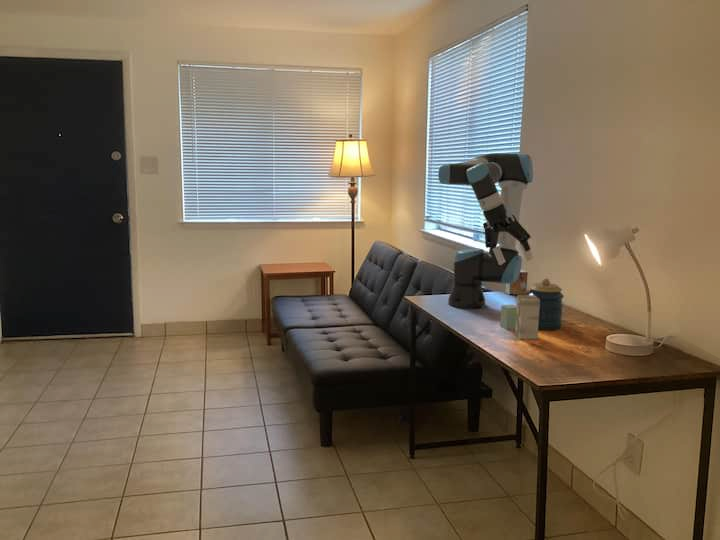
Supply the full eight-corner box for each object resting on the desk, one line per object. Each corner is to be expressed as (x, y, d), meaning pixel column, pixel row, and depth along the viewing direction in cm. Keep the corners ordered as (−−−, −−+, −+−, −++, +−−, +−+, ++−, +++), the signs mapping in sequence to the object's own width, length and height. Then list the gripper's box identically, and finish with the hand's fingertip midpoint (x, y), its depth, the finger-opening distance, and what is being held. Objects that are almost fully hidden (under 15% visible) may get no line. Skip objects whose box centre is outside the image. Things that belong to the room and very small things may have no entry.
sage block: (500, 326, 230) (501, 305, 229) (511, 325, 231) (512, 304, 230) (506, 329, 226) (507, 308, 224) (517, 329, 227) (518, 307, 226)
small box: (509, 295, 284) (510, 271, 282) (505, 292, 289) (506, 269, 287) (526, 295, 284) (528, 271, 282) (522, 292, 290) (523, 269, 288)
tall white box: (515, 334, 220) (517, 295, 217) (532, 334, 220) (534, 295, 217) (519, 339, 214) (522, 299, 211) (537, 339, 214) (539, 299, 211)
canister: (555, 332, 223) (559, 283, 220) (519, 327, 230) (522, 279, 227) (565, 325, 233) (569, 278, 230) (531, 319, 240) (534, 274, 237)
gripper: (462, 216, 229) (485, 269, 232) (510, 204, 207) (535, 262, 210) (476, 208, 232) (498, 260, 236) (525, 195, 211) (549, 253, 214)
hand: (516, 261), depth 223 cm, fingers open, 13 cm apart
